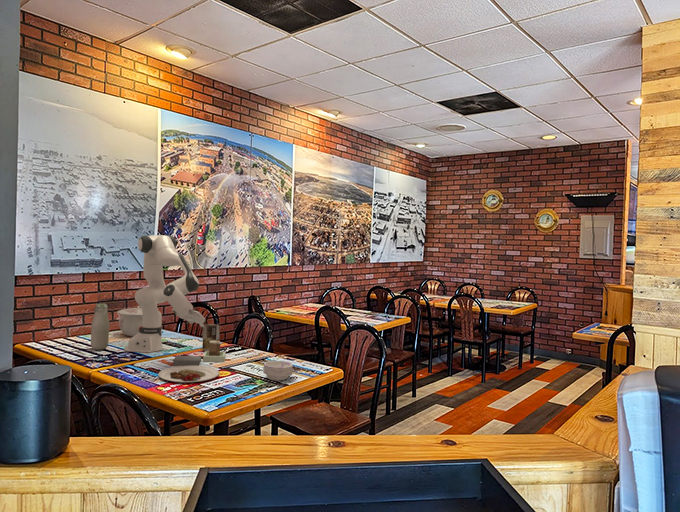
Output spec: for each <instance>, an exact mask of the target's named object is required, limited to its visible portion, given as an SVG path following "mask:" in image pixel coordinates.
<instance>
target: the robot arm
mask: <svg viewBox="0 0 680 512" xmlns="http://www.w3.org/2000/svg"><path fill="white" fill-rule="evenodd" d="M137 247H138V250H139V251H140V252H141V253H143V262H142V263H143V267H142V268H143V278H144V280H146V281H147V283H148V286H145V287H142V288H139V289H137V290H136V292H135V293H134V300H135V302H136V303H137V304H138V306H140V308H141V310H142V314H143V324H142V326H140V327H139V333H138V334H136V335H135V336H133V337H131V338H129V340H128V343H127V345H126V346H125V347H123V352H133V353H134V352H135V353H136V352H137V353H153V352H159V351H162V350H164V346H163V342H162V341H163V340H162V334H163V326H162V324H163V323H162V321H163V320H162V319H163V318H162V317H163V316H162V312H161V311H160V310H159V309H158V304H164V303H166V302H168V304H169V305H170V306H171V307H172V309H171V312H172V313H174V314H175V315H176V316H177V317H178V318H180V319H182V320H185V321H186V322H188V323H189V324H191V325H193V324H194V323H196V324H199V326H200V327H201V328H203V326H204V325H205V324H204V323H205V321H206V318H205V317H204V315H203V314H202V313H201V312H199V311H197V310H194V305H192V303H191V302H190V301H189V299H188V298H186V295H188V294H190V293H193V292H196V291H197V290H198V289H199V287H200V281H199V279H198V277H197V276H196V275H195V273H194V271H193V270H192V267H191V266H190V264H189V262H188V261H187V260H186V257H185V256H184V255H183V254H182V253H181V252H178V251H177V250H176V248H177V240H176V238H175V236H173V235H167V234H165V235H163V234H155V235H154V234H153V235H146V234H145V235H141V236H140V238H139V239H138V241H137ZM176 266H177V267H179V266H180V267H181V269H182V271H183V273H184V275H183V276H182V277H179V278H178V279H176V280H174V281H171V282H169V283H167V285H166V283H165V280H164V273H163V270H164V269H163V267H176Z"/></svg>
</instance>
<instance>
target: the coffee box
mask: <svg viewBox="0 0 680 512" xmlns="http://www.w3.org/2000/svg"><path fill="white" fill-rule="evenodd" d="M220 333H221V325H220V324H219V323H218V324H216V323H214V324H213V323H206V324H204V326H203V327H202V350H205V351H204V352H209V341H214V340H216V341H220V336H221V335H220ZM202 350H201V351H202Z"/></svg>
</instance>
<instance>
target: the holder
mask: <svg viewBox="0 0 680 512" xmlns="http://www.w3.org/2000/svg"><path fill="white" fill-rule="evenodd" d="M225 361H226V351H220V356H209V351H204V353H203V356H202V362H203V363H225Z"/></svg>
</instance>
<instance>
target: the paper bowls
mask: <svg viewBox="0 0 680 512" xmlns="http://www.w3.org/2000/svg"><path fill="white" fill-rule="evenodd" d="M293 368H294V364H293V363H292V362H289V361H285V360H267V361H265V362H264V363H263V374H265V375H266V377H267V378H268V379H269V380H271V381H273V382H274V381H275V382H280V381H279V380H283V381H286V380H287V379H288V378H289V376H292V375H293V371H294V370H293ZM285 379H286V380H285Z"/></svg>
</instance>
